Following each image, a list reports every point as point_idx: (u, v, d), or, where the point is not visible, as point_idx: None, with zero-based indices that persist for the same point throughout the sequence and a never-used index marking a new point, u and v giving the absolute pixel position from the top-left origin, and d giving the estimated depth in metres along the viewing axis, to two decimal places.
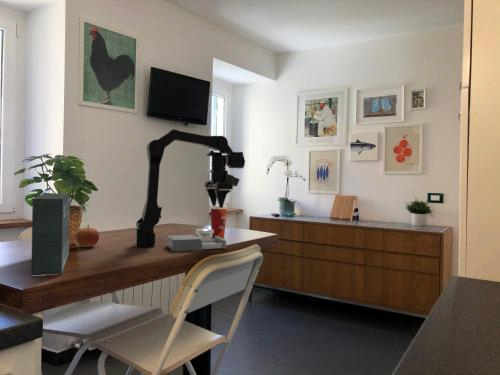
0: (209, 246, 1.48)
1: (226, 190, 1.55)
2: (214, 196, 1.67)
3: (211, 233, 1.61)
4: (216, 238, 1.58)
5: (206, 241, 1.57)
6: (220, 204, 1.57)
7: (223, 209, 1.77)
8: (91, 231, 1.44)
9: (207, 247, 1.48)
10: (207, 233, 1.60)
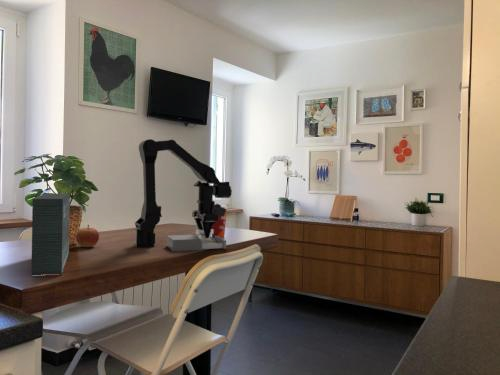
0: (209, 246, 1.48)
1: (212, 221, 1.57)
2: None
3: (211, 233, 1.61)
4: (216, 238, 1.58)
5: (206, 241, 1.57)
6: (206, 235, 1.59)
7: None
8: (91, 231, 1.44)
9: (207, 247, 1.48)
10: None
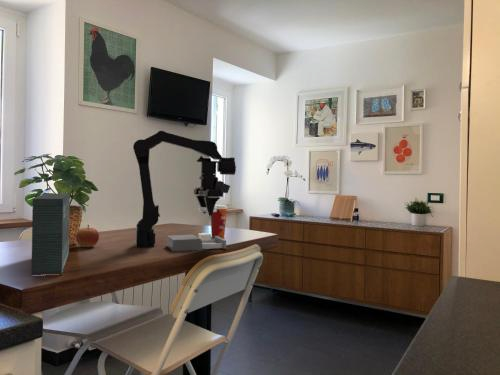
0: (209, 246, 1.48)
1: (216, 197, 1.51)
2: (204, 203, 1.60)
3: (214, 210, 1.55)
4: (216, 238, 1.58)
5: (206, 241, 1.57)
6: (209, 212, 1.53)
7: (223, 209, 1.77)
8: (91, 231, 1.44)
9: (207, 247, 1.48)
10: None
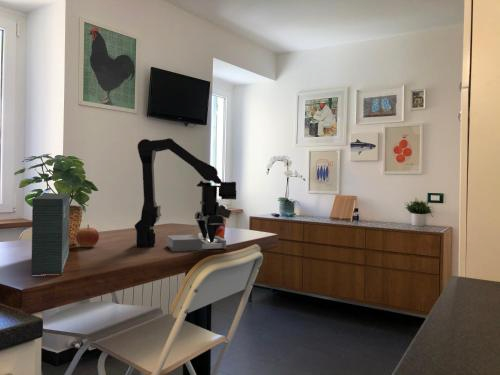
0: (209, 246, 1.48)
1: (217, 224, 1.46)
2: (205, 228, 1.57)
3: None
4: (216, 238, 1.58)
5: None
6: (210, 238, 1.48)
7: None
8: (91, 231, 1.44)
9: (207, 247, 1.48)
10: None
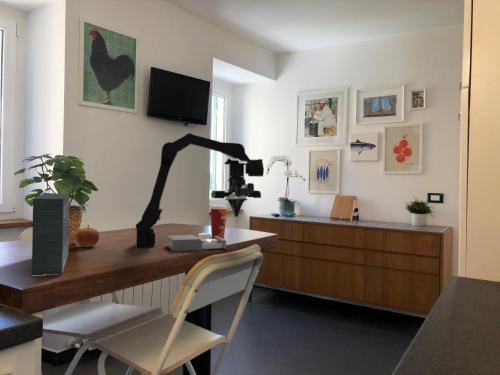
0: (209, 246, 1.48)
1: (228, 199, 1.54)
2: None
3: None
4: (216, 238, 1.58)
5: None
6: None
7: (223, 209, 1.77)
8: (91, 231, 1.44)
9: (207, 247, 1.48)
10: None
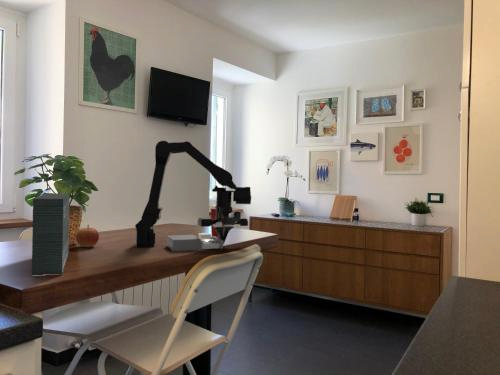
0: (206, 246, 1.48)
1: (214, 227, 1.53)
2: (223, 234, 1.55)
3: None
4: (213, 238, 1.57)
5: None
6: None
7: None
8: (91, 231, 1.44)
9: (204, 247, 1.48)
10: None
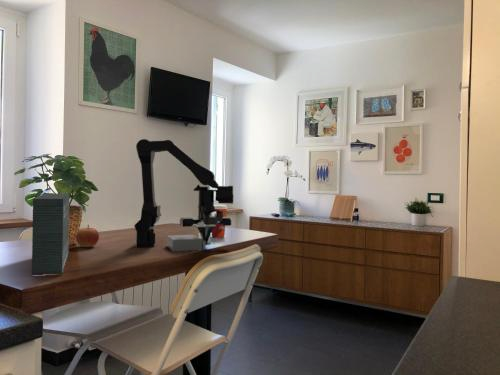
0: None
1: (197, 226, 1.50)
2: (206, 234, 1.52)
3: None
4: None
5: None
6: None
7: (223, 209, 1.77)
8: (91, 231, 1.44)
9: None
10: None
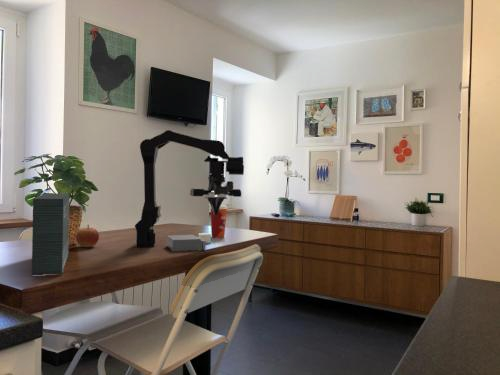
0: None
1: (207, 197, 1.51)
2: (216, 205, 1.54)
3: None
4: None
5: None
6: (213, 211, 1.54)
7: (223, 209, 1.77)
8: (91, 231, 1.44)
9: None
10: None
